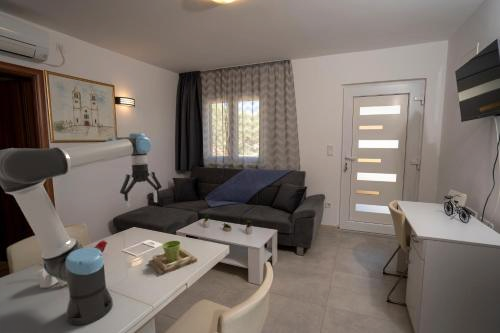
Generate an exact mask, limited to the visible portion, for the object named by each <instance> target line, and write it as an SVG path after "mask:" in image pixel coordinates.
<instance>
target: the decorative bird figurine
mask: <svg viewBox="0 0 500 333" xmlns="http://www.w3.org/2000/svg"><path fill="white" fill-rule="evenodd" d="M108 244H109V242H107V241H105V240H101V241H99V242H98V243H97V244H96V245H95V246H93V247H92V248H97V249H99V250H100V251H101V252H102V254H103V253H104V252H105V249H106V247H107V245H108Z"/></svg>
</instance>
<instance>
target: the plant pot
mask: <svg viewBox="0 0 500 333" xmlns="http://www.w3.org/2000/svg"><path fill="white" fill-rule="evenodd" d="M162 244H163V245H162V246H161V247H162V248H163V250H164V251H163V252H165V255H166V260H167V262H173V261H177V260H178V259H179V248H181V244H182V243H181V241H180V240H170V241H166V242H164V243H162Z"/></svg>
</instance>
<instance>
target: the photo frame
mask: <svg viewBox="0 0 500 333" xmlns="http://www.w3.org/2000/svg"><path fill="white" fill-rule="evenodd" d="M141 244H143V245H146V246H149V247H151V248H149V249H148V250H145V251H143V252H141V253H140V252H139V253H138V254H136V253H133V252H132V251H128V250H129V249H132V248H135V247H137V246H139V245H141ZM163 244H164V243H161V242H158V241H155V240H151V239H147V240H143V241H142V242H139V243H137V244H134V245H131V246H129V247H126V248H124V249H122V251H123V252H125V253H127V254H130V255H132V256H134V257H138V256H141V255H143V254H145V253H148V252H150V251H152V250H156V249H157V248H160V247H162V245H163Z"/></svg>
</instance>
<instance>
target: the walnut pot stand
mask: <svg viewBox="0 0 500 333" xmlns="http://www.w3.org/2000/svg"><path fill="white" fill-rule="evenodd" d="M147 262H148V265H150V267H151V268H152V269H153V270H154V271H155V272H156V273H157V274H159V275H160V276H162V275H165V274H167V273H170V272H172V271H176V270H178V269H181V268H184V267H185V266H189V265H191V264H194V263H197V262H198V258H197V257H195V256H194V255H192V254H191V253H189V252H188V251H187V250H185V249H183V248H181V247H180V248H179V259H178V260H177V261H173V262H167V260H166V255H165V251H163V252H161V253H158V254H155V255H152V259H150V260H148V261H147Z"/></svg>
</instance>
